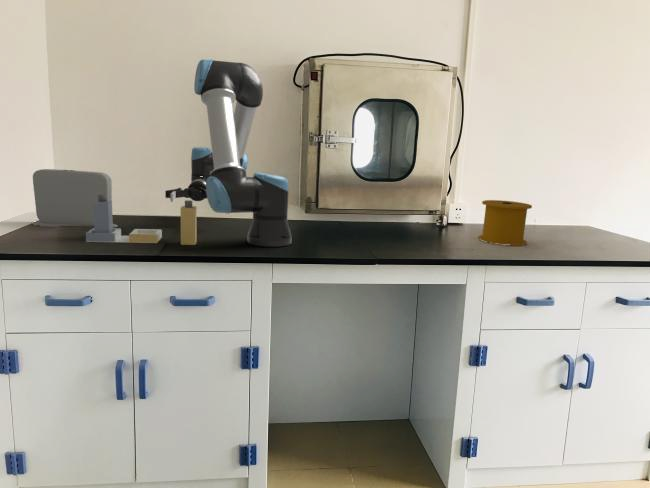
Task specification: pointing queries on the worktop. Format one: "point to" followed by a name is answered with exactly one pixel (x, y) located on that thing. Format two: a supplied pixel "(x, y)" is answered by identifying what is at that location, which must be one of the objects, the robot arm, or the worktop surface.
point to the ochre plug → (188, 224)
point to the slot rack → (133, 237)
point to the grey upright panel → (68, 196)
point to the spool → (504, 222)
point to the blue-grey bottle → (103, 215)
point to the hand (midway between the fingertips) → (192, 198)
